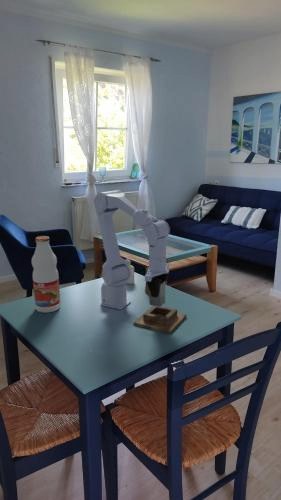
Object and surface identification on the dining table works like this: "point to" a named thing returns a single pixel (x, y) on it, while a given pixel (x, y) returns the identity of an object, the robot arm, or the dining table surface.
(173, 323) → the socket holder
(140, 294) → the dining table surface
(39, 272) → the fruit juice
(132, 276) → the eye dropper bottle
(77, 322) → the dining table surface
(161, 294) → the metal pin
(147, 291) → the cork
